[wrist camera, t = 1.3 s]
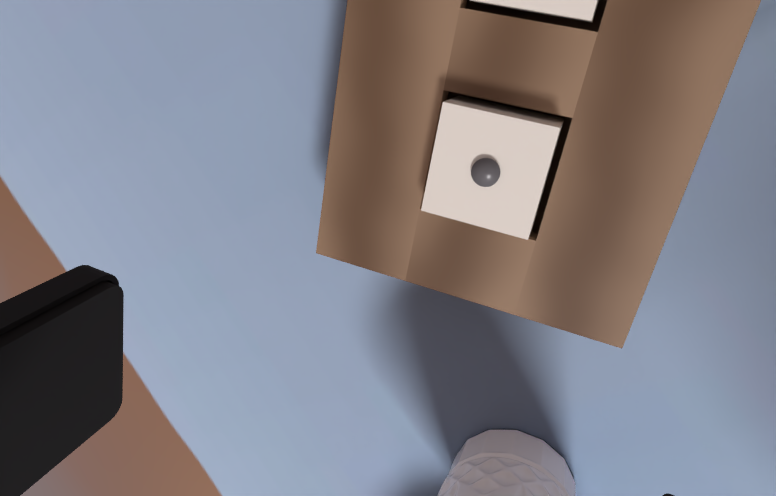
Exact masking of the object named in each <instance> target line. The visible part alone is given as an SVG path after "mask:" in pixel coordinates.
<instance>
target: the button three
mask: <svg viewBox="0 0 776 496" xmlns="http://www.w3.org/2000/svg"><path fill="white" fill-rule="evenodd" d="M470 1H474V2H477V3H481V4H487V5H492V6H498V7H504V8H510V9H515V10H521V11H527V12H533V13H538V14H544V15H550V16H556V17H562V18H567V19H573V20H579V21H585V22H590V23H592V22H593V19H594V16H595V12H596V9H597V5H598V2H599V0H470Z"/></svg>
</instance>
